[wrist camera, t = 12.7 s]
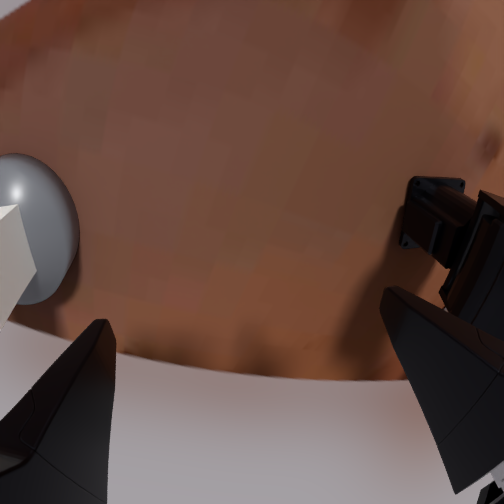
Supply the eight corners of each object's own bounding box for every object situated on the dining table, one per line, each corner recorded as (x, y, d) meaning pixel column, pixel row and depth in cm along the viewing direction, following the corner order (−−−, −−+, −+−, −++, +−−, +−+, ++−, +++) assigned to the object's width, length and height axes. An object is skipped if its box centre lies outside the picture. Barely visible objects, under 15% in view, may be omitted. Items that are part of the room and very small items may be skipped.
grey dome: (62, 138, 17) (43, 148, 14) (95, 278, 22) (85, 301, 20) (-42, 170, 15) (-64, 183, 13) (-4, 285, 21) (-18, 306, 18)
